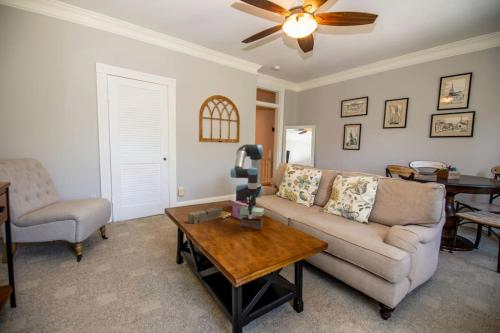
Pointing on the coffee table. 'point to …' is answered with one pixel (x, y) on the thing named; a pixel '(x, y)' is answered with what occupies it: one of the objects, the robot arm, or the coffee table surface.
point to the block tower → (204, 215)
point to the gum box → (237, 207)
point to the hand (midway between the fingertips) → (251, 216)
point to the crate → (252, 223)
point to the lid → (254, 211)
